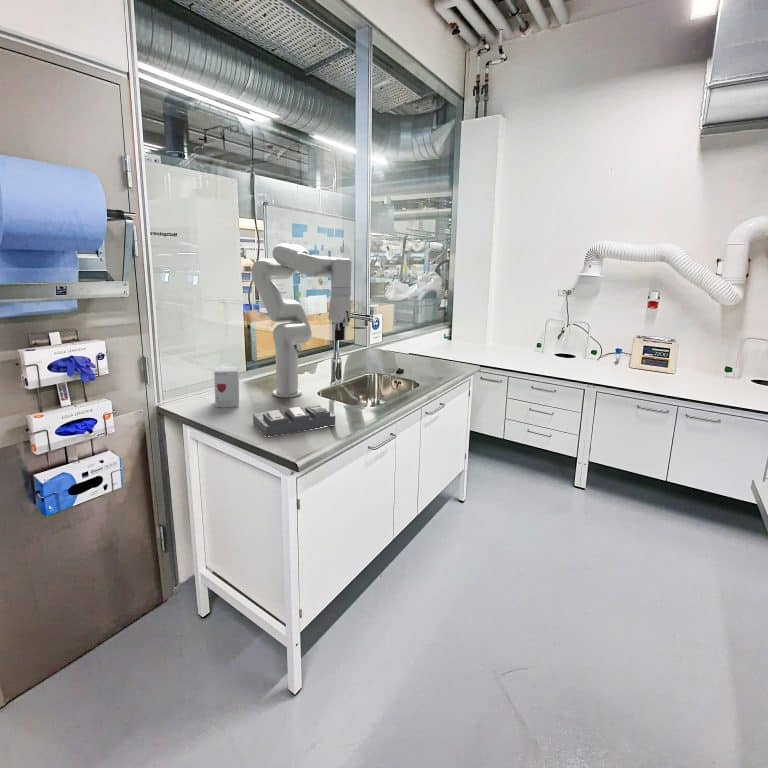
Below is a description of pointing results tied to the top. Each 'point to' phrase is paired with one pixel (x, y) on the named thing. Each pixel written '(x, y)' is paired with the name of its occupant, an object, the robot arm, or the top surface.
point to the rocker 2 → (318, 409)
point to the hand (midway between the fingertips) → (339, 339)
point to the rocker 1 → (275, 415)
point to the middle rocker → (296, 411)
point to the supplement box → (226, 386)
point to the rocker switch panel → (293, 421)
